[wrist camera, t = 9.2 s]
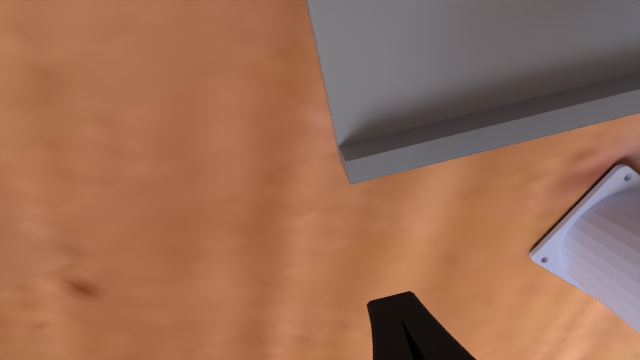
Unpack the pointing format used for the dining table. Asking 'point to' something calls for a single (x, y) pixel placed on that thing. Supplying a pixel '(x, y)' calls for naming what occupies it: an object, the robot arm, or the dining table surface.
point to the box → (469, 74)
